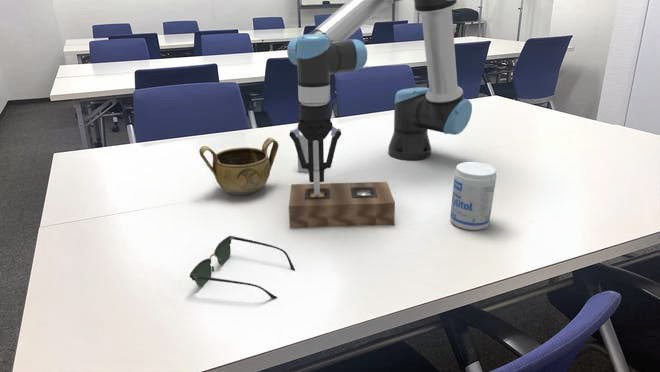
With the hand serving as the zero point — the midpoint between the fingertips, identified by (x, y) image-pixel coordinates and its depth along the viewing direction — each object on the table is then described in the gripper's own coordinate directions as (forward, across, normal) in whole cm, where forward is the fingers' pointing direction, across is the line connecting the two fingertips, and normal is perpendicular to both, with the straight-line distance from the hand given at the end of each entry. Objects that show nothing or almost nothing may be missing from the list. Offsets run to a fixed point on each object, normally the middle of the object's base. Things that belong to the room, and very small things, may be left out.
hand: (317, 193), depth 122 cm
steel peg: (+6, -12, 0) cm, 13 cm away
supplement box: (+6, +2, -35) cm, 36 cm away
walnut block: (+6, -6, 0) cm, 9 cm away
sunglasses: (+7, +14, +28) cm, 33 cm away
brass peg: (+6, 0, 0) cm, 6 cm away
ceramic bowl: (+6, +22, -18) cm, 29 cm away
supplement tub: (+6, -38, +7) cm, 39 cm away
